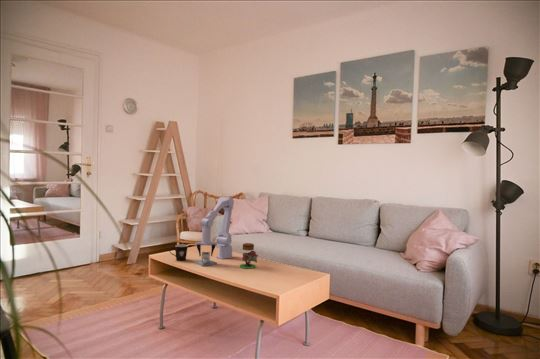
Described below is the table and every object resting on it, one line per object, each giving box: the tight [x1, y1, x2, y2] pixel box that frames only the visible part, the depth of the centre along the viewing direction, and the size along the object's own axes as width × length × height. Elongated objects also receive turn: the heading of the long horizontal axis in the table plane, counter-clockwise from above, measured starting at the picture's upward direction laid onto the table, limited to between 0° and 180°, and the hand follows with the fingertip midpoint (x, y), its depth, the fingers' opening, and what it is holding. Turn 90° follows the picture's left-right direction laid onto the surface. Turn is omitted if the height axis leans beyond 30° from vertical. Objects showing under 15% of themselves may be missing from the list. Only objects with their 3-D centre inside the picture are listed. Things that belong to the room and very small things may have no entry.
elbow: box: [201, 251, 211, 264], centre depth 241 cm, size 10×5×6 cm, turn 7°
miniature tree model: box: [239, 242, 259, 270], centre depth 238 cm, size 12×13×15 cm
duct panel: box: [193, 259, 218, 267], centre depth 243 cm, size 11×12×4 cm
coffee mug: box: [169, 243, 189, 262], centre depth 250 cm, size 12×9×10 cm
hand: (205, 256), depth 243 cm, fingers open, 7 cm apart
